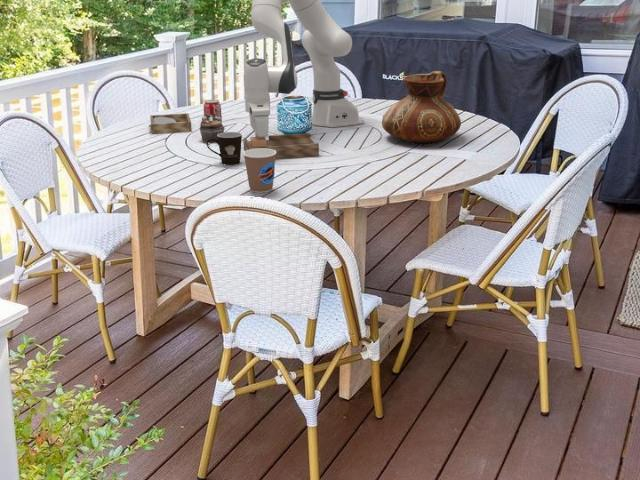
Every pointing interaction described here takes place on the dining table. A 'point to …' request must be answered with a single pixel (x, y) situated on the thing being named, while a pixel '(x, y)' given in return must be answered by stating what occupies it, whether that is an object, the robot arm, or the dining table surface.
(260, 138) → the block
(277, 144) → the trap box
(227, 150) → the coffee mug
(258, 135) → the robot arm
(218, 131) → the cupcake
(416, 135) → the jug
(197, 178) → the dining table surface
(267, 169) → the coffee cup
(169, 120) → the stone block
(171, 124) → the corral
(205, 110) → the soda can
